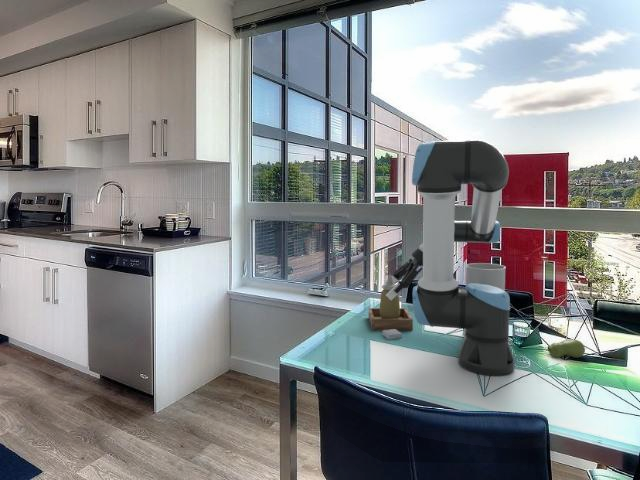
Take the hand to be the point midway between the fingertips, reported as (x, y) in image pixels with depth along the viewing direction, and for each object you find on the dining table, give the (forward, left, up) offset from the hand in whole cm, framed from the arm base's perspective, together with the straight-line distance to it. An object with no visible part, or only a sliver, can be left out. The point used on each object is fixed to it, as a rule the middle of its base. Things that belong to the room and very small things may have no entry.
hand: (385, 293), depth 155 cm
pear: (-31, -51, -12) cm, 61 cm away
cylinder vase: (-14, -32, -12) cm, 37 cm away
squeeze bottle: (0, -2, -11) cm, 11 cm away
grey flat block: (-14, 0, -12) cm, 19 cm away
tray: (0, -1, -12) cm, 12 cm away
